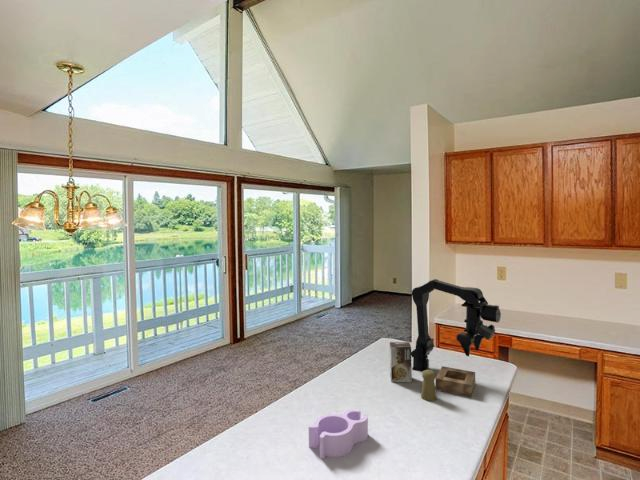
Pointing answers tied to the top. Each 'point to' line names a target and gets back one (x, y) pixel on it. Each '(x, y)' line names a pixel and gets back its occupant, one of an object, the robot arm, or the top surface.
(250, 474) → the top surface
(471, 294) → the robot arm
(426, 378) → the olive tall rounded piece
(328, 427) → the clip
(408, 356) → the coffee box
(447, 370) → the well block
